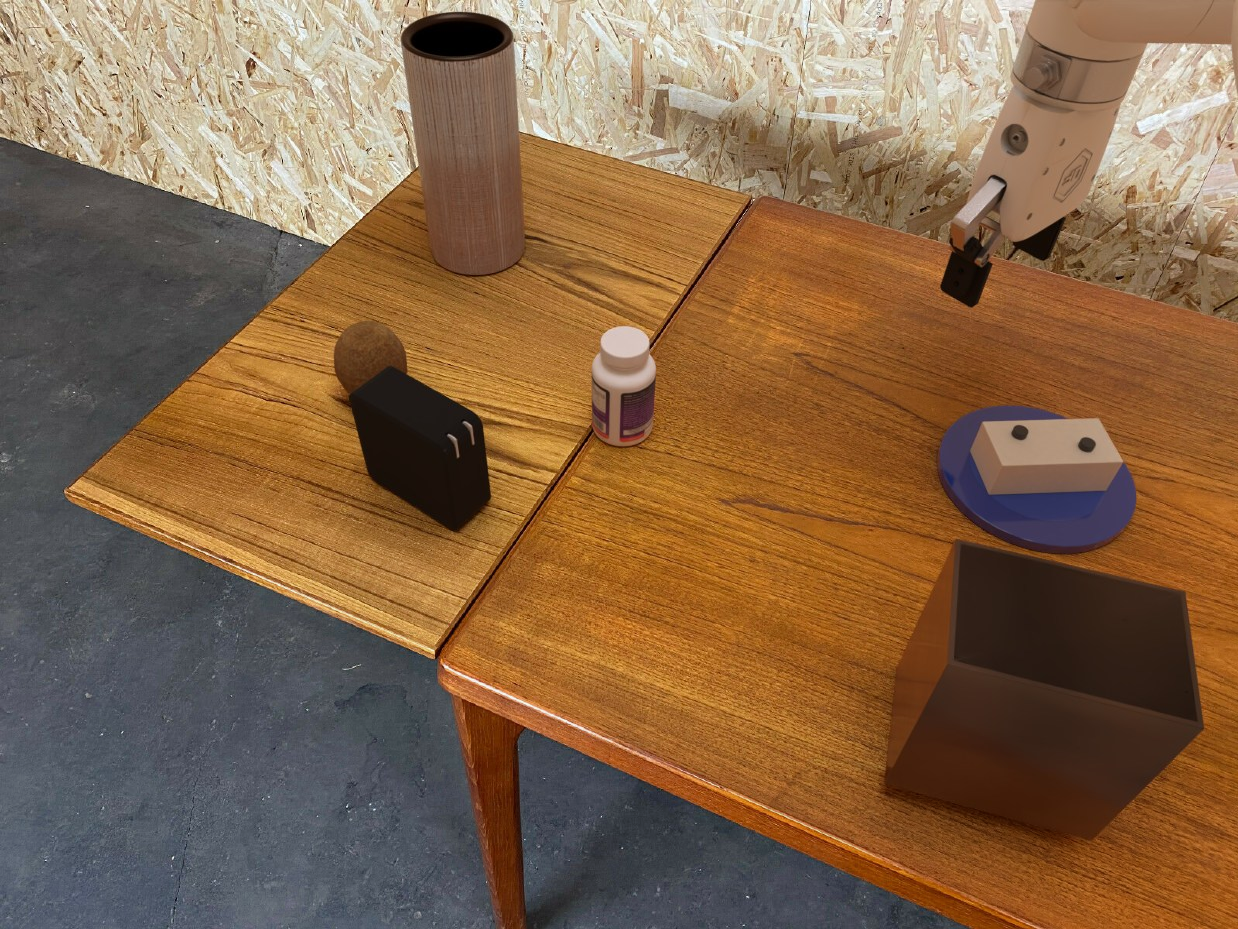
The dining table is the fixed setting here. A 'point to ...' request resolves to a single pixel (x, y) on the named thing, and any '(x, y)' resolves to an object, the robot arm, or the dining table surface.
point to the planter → (467, 138)
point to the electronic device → (422, 446)
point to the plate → (1031, 495)
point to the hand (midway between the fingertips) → (994, 274)
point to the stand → (1042, 690)
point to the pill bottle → (623, 387)
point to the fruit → (366, 353)
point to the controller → (1045, 456)
